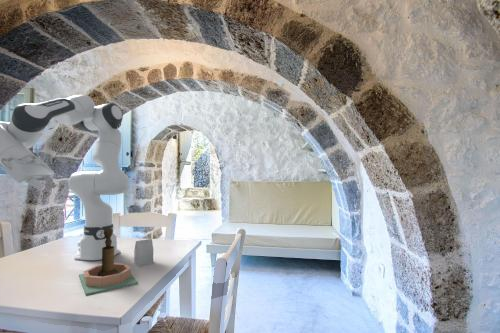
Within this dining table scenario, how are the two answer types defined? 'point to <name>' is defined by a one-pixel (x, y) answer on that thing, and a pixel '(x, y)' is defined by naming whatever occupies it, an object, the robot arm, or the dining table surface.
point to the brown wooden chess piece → (108, 256)
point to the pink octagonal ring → (108, 280)
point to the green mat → (95, 289)
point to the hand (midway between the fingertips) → (49, 188)
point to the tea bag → (143, 252)
